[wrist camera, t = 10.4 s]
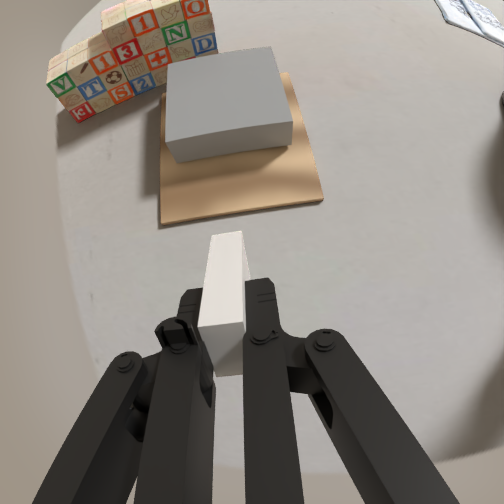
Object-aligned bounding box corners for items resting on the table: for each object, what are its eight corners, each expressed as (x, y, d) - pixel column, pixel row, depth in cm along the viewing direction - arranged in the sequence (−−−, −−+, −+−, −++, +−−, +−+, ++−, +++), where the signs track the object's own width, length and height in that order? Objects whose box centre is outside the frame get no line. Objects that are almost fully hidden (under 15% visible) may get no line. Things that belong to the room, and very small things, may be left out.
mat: (323, 200, 30) (323, 198, 30) (163, 225, 31) (160, 223, 30) (287, 75, 35) (288, 72, 35) (163, 96, 36) (161, 93, 35)
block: (293, 121, 27) (270, 46, 30) (165, 142, 28) (167, 64, 31) (291, 147, 31) (271, 72, 35) (177, 165, 32) (177, 88, 35)
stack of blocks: (77, 125, 36) (32, 69, 24) (77, 98, 38) (39, 44, 26) (222, 65, 37) (207, -9, 25) (209, 42, 38) (194, -24, 27)
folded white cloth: (517, 57, 37) (521, 51, 35) (444, 23, 39) (447, 16, 37) (489, 14, 42) (491, 8, 40) (421, -14, 44) (423, -20, 42)
